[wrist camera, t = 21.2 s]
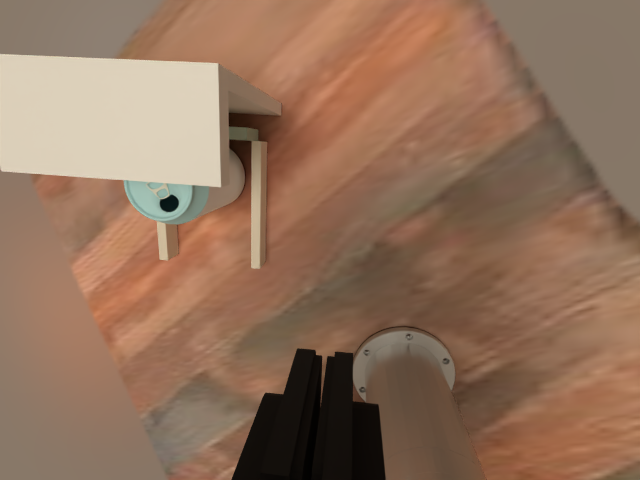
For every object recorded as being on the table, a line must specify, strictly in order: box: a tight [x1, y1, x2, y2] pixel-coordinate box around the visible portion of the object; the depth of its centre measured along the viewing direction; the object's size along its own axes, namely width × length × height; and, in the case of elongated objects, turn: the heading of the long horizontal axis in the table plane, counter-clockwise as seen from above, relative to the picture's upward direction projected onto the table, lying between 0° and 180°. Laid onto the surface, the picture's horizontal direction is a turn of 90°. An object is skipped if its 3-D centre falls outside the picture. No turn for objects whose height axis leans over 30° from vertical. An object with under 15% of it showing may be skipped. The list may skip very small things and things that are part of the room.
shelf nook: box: [0, 54, 282, 269], centre depth 30 cm, size 18×15×17 cm
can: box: [124, 149, 245, 224], centre depth 32 cm, size 7×7×12 cm
